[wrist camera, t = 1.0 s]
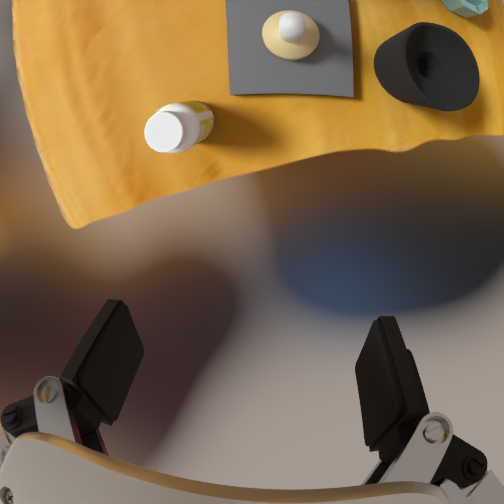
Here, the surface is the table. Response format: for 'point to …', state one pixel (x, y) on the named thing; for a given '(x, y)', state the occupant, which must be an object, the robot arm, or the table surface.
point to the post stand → (290, 47)
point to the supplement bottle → (179, 126)
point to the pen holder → (428, 67)
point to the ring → (466, 7)
